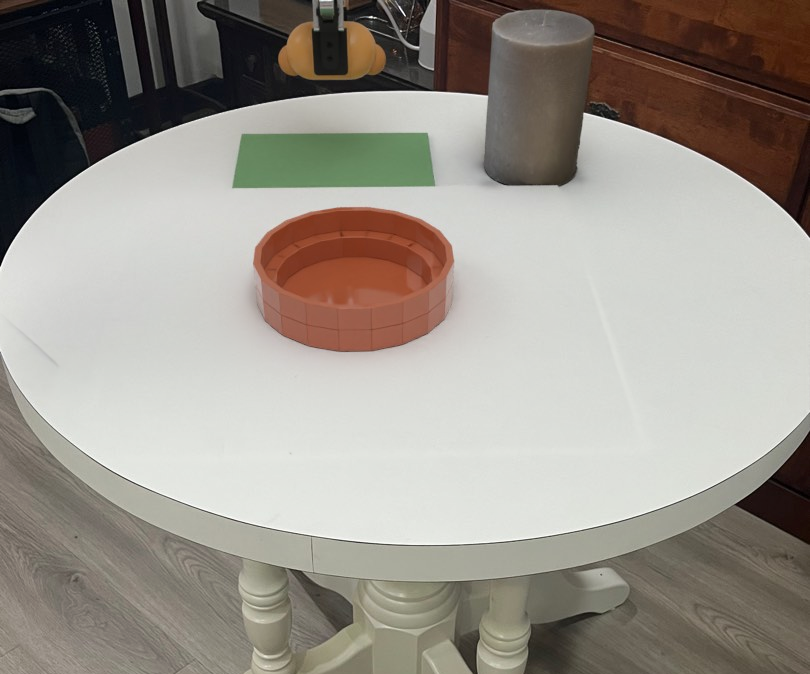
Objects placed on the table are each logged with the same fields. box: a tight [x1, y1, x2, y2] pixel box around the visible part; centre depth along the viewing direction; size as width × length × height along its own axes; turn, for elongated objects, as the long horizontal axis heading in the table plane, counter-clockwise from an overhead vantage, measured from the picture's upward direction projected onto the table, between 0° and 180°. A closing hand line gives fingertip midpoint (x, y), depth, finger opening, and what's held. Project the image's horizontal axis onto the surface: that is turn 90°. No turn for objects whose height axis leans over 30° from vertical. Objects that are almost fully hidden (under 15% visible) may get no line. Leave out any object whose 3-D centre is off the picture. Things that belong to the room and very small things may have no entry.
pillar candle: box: [483, 9, 596, 187], centre depth 97 cm, size 10×10×15 cm
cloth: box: [231, 132, 436, 189], centre depth 102 cm, size 20×13×1 cm, turn 92°
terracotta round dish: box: [252, 206, 455, 352], centre depth 82 cm, size 16×16×4 cm
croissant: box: [277, 20, 387, 81], centre depth 95 cm, size 10×5×5 cm, turn 92°
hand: (331, 60), depth 95 cm, fingers closed on croissant, 5 cm apart
